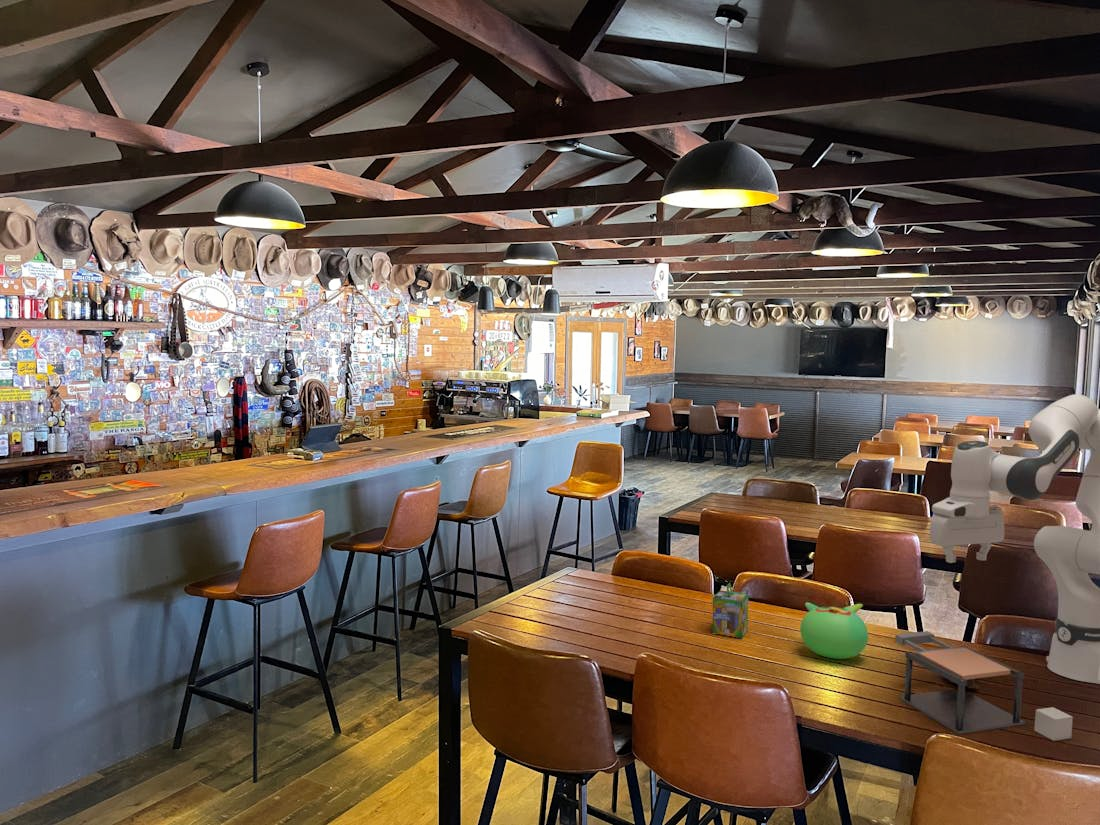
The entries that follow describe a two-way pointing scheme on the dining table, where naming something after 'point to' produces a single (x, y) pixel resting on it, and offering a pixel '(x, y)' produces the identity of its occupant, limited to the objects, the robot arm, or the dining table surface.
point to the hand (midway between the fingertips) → (966, 561)
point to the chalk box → (730, 613)
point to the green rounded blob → (834, 631)
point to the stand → (961, 701)
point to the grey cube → (1053, 723)
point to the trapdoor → (953, 657)
